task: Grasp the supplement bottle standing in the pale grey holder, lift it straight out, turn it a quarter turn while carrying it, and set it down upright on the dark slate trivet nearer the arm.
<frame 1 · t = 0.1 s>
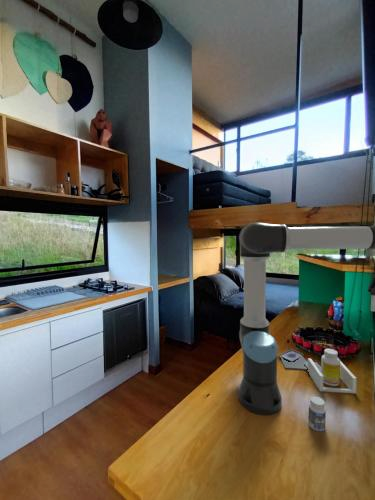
supplement bottle: (329, 382, 98), resting in holder
holder: (330, 381, 98), on the table
trivet: (294, 362, 112), on the table
pill bottle: (316, 426, 76), on the table
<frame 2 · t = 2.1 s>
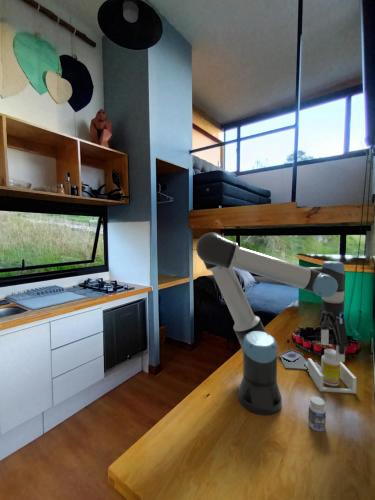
hand: (331, 352, 97), 12 cm above the table, fingers open, 13 cm apart
nothing on the table moved.
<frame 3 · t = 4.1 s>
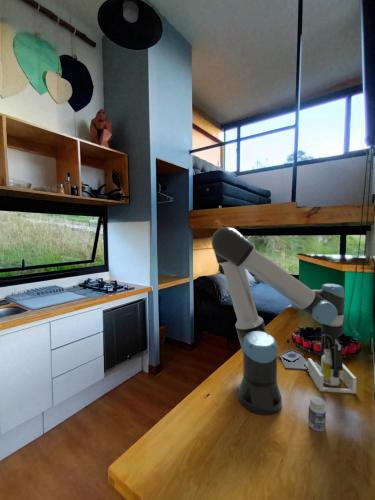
hand: (330, 378, 98), 2 cm above the table, fingers closed on supplement bottle, 7 cm apart
supplement bottle: (330, 382, 98), resting in holder, touching gripper
everything else where it was.
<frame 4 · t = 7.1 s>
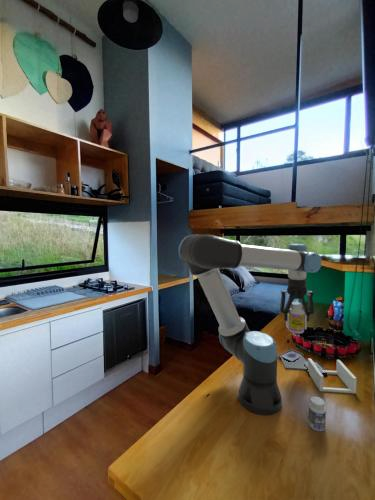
hand: (296, 327, 111), 17 cm above the table, fingers closed on supplement bottle, 7 cm apart
supplement bottle: (296, 331, 111), point 15 cm above the table, touching gripper
everything else where it was.
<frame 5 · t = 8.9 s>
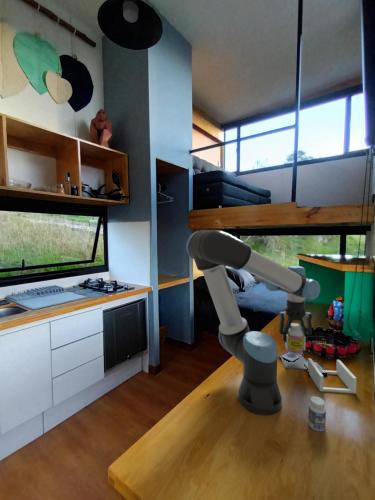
hand: (294, 348, 112), 7 cm above the table, fingers closed on supplement bottle, 7 cm apart
supplement bottle: (294, 352, 112), point 5 cm above the table, touching gripper
everything else where it was.
when the fingers open (4 cm above the table, at t = 10.4 s): supplement bottle drops 1 cm, resting on trivet.
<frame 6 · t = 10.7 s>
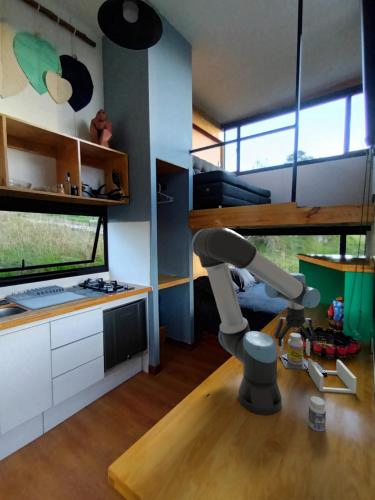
hand: (294, 353, 112), 5 cm above the table, fingers open, 11 cm apart
supplement bottle: (294, 362, 112), resting on trivet
everything else where it was.
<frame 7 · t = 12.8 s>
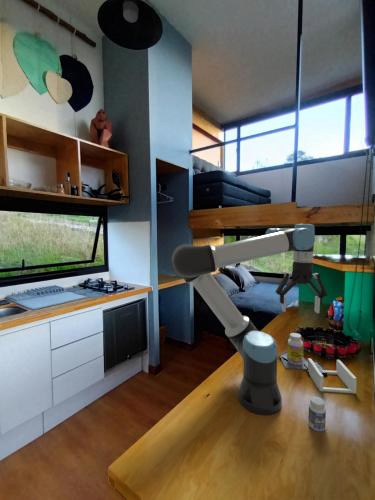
hand: (300, 311, 101), 27 cm above the table, fingers open, 13 cm apart
nothing on the table moved.
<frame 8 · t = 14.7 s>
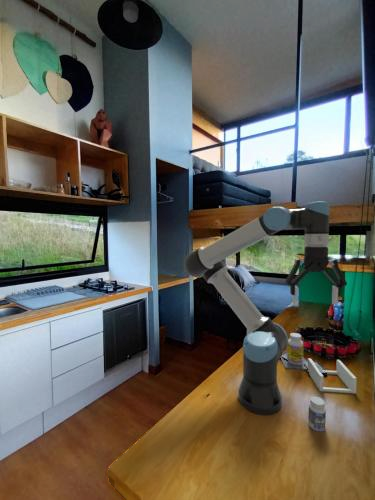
hand: (314, 304, 88), 35 cm above the table, fingers open, 13 cm apart
nothing on the table moved.
at the end: supplement bottle inside the target area on the trivet (0.2 cm from its centre), point 0.4 cm above the trivet's base; supplement bottle tilted 0°; the gripper is holding nothing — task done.
